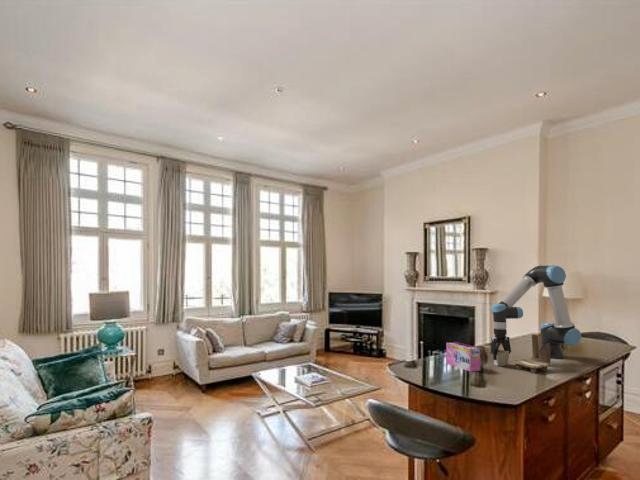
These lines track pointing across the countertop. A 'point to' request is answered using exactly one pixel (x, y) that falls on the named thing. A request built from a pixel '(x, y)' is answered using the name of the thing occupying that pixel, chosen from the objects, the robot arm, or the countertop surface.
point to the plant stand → (531, 364)
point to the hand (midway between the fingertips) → (501, 364)
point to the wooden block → (544, 350)
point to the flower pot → (502, 357)
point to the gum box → (463, 356)
